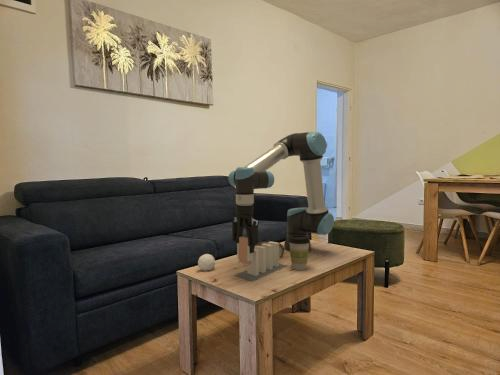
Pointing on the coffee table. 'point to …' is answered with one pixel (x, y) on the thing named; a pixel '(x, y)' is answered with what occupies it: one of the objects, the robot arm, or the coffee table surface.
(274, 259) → the domino
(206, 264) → the geometric ball
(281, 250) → the tin
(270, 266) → the domino
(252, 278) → the mat
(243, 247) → the domino
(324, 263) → the coffee table surface
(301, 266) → the coffee cup
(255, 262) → the domino
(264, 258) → the domino
